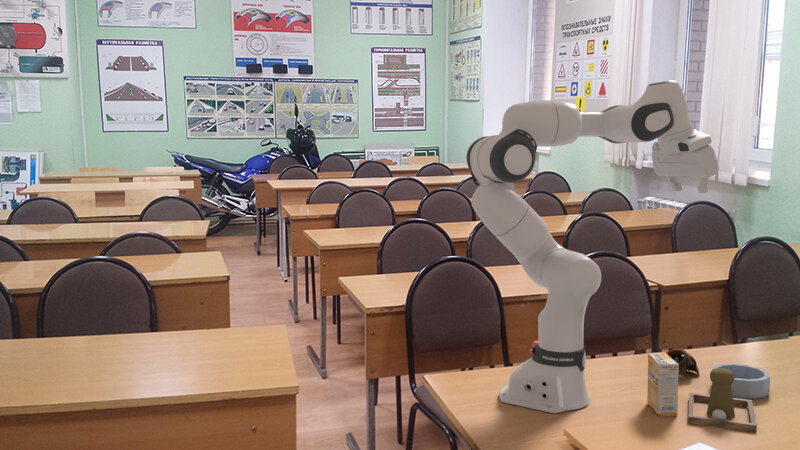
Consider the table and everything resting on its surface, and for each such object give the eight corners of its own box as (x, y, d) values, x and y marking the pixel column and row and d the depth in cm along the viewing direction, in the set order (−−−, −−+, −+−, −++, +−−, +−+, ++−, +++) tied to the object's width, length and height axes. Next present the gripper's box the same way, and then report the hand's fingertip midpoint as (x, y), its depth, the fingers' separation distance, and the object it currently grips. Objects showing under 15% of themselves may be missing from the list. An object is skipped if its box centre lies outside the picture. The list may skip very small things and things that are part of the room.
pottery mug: (707, 381, 183) (696, 358, 180) (673, 395, 185) (662, 372, 183) (691, 357, 194) (681, 335, 192) (660, 370, 196) (649, 348, 194)
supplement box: (646, 403, 168) (647, 352, 166) (665, 403, 167) (666, 352, 166) (657, 417, 159) (658, 363, 158) (678, 416, 159) (679, 363, 158)
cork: (722, 421, 156) (723, 375, 155) (701, 412, 161) (702, 367, 160) (740, 416, 158) (742, 371, 157) (719, 407, 164) (720, 364, 162)
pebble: (711, 423, 155) (712, 411, 154) (711, 418, 158) (712, 406, 157) (726, 425, 154) (726, 412, 153) (725, 420, 156) (726, 408, 156)
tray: (688, 422, 155) (688, 416, 155) (689, 398, 170) (689, 392, 170) (756, 431, 150) (756, 425, 150) (751, 405, 164) (751, 400, 164)
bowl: (712, 395, 172) (713, 377, 171) (711, 378, 184) (712, 361, 183) (771, 402, 166) (772, 383, 166) (766, 384, 178) (767, 366, 178)
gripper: (641, 146, 181) (654, 193, 184) (695, 145, 162) (709, 198, 165) (660, 138, 183) (673, 185, 186) (715, 136, 163) (729, 189, 166)
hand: (690, 191), depth 175 cm, fingers open, 8 cm apart
